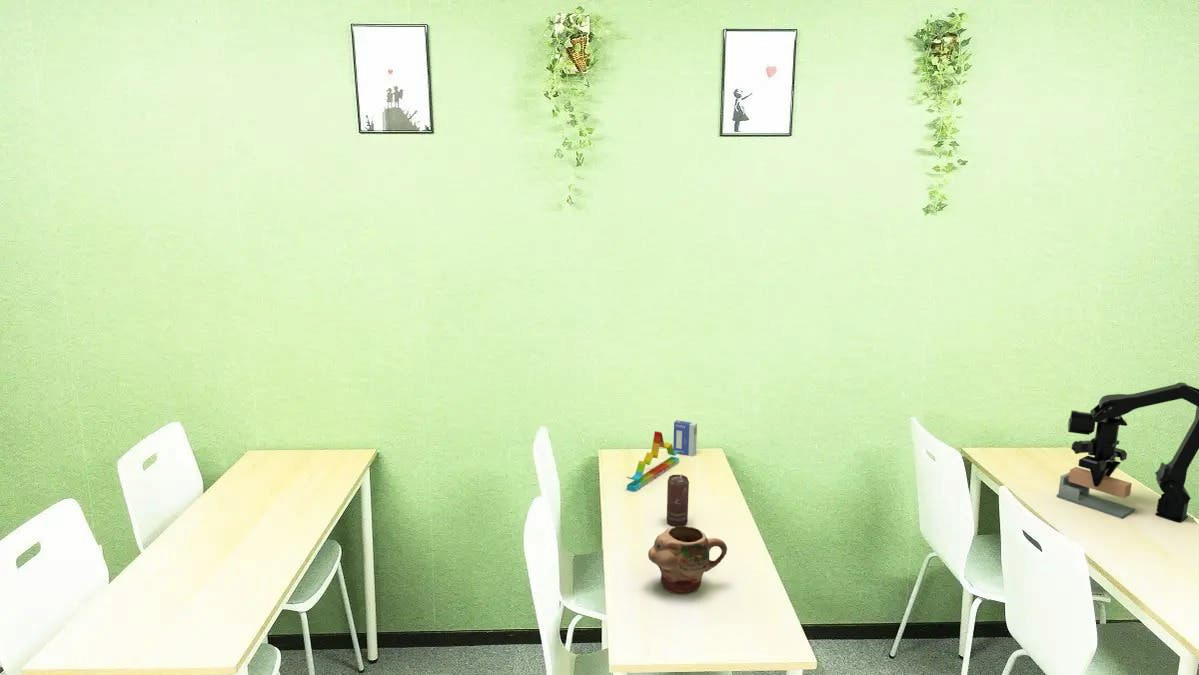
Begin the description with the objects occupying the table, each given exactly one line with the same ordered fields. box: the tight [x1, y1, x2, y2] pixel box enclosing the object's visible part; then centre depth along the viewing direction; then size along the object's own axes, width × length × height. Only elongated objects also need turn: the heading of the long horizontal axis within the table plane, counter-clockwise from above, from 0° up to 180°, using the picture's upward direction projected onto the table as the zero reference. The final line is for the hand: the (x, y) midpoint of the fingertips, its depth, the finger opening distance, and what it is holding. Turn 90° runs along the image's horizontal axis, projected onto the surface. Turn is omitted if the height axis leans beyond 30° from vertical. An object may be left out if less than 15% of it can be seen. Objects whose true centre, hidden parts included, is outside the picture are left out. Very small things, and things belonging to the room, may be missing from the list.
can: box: [666, 474, 690, 527], centre depth 237 cm, size 6×6×14 cm
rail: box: [1069, 466, 1133, 499], centre depth 251 cm, size 16×4×4 cm, turn 35°
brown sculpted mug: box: [647, 525, 728, 595], centre depth 203 cm, size 20×12×14 cm, turn 104°
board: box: [1056, 493, 1136, 519], centre depth 253 cm, size 19×9×1 cm, turn 36°
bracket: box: [1057, 471, 1091, 500], centre depth 257 cm, size 6×7×6 cm
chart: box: [626, 431, 680, 493], centre depth 271 cm, size 30×3×15 cm, turn 147°
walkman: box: [672, 419, 698, 457], centre depth 292 cm, size 8×3×12 cm, turn 64°
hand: (1099, 484), depth 251 cm, fingers closed on rail, 4 cm apart
